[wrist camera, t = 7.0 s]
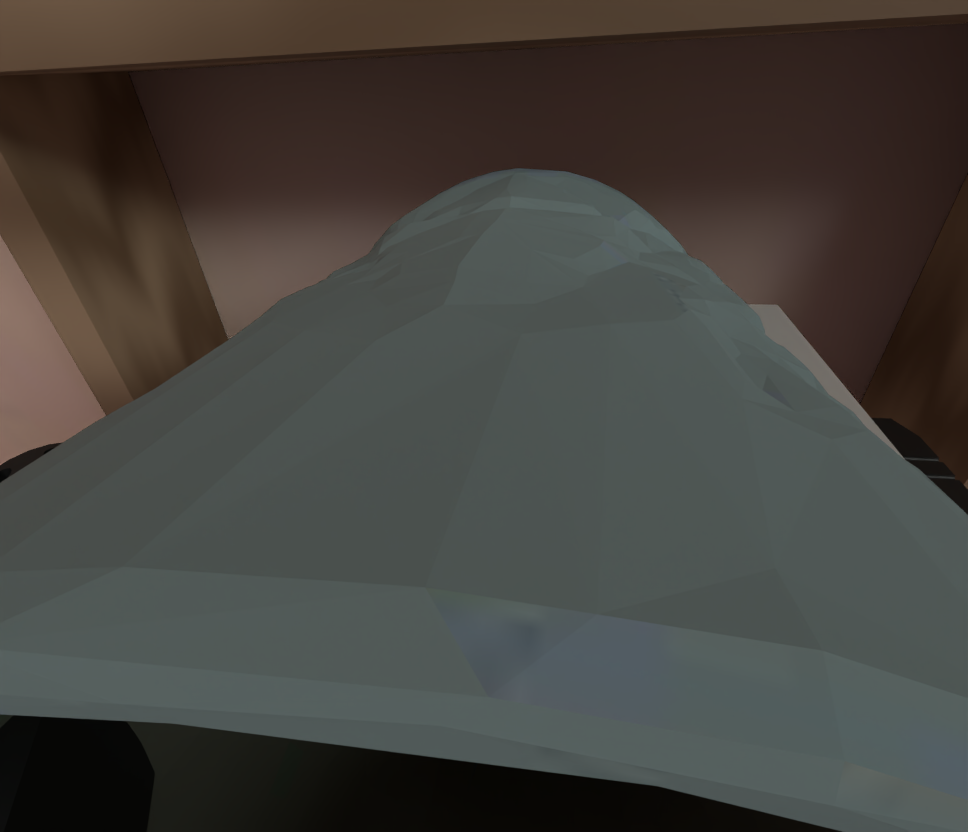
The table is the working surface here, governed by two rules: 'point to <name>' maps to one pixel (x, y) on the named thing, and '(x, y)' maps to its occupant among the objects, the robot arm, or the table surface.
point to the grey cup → (501, 555)
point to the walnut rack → (332, 36)
